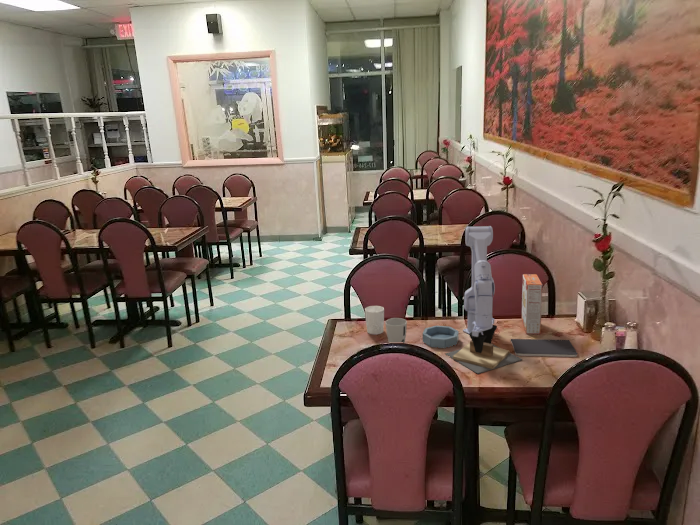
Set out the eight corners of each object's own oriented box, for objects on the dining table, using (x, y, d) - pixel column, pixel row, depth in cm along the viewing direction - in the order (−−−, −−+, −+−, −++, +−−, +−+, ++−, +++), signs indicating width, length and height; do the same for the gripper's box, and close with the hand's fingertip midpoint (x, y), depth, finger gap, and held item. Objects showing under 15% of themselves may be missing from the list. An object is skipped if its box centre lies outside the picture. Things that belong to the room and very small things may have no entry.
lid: (471, 343, 192) (471, 331, 191) (509, 353, 183) (509, 340, 182) (452, 358, 181) (452, 345, 180) (492, 369, 172) (493, 355, 171)
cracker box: (520, 321, 213) (522, 273, 207) (535, 321, 212) (537, 273, 206) (524, 334, 200) (526, 283, 194) (540, 334, 198) (543, 284, 193)
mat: (487, 342, 194) (487, 341, 194) (522, 360, 178) (522, 359, 178) (445, 354, 185) (445, 353, 185) (477, 374, 170) (477, 373, 170)
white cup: (388, 329, 211) (387, 307, 208) (378, 336, 204) (378, 313, 202) (371, 326, 215) (371, 304, 212) (362, 333, 209) (361, 310, 206)
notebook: (568, 343, 191) (510, 342, 194) (569, 339, 190) (510, 338, 194) (578, 358, 178) (515, 356, 182) (578, 354, 178) (515, 352, 182)
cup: (406, 350, 190) (405, 326, 188) (384, 350, 192) (384, 325, 189) (408, 342, 198) (407, 318, 195) (387, 341, 200) (386, 317, 197)
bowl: (444, 331, 206) (444, 323, 205) (464, 342, 195) (464, 334, 194) (417, 338, 201) (416, 330, 200) (436, 350, 189) (436, 341, 188)
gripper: (481, 304, 185) (481, 338, 189) (464, 317, 174) (463, 353, 178) (500, 308, 181) (499, 343, 184) (483, 320, 170) (482, 357, 174)
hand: (483, 348), depth 181 cm, fingers open, 7 cm apart
